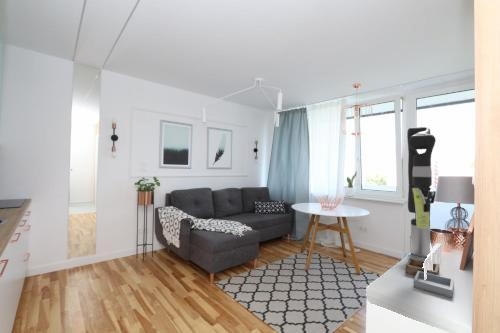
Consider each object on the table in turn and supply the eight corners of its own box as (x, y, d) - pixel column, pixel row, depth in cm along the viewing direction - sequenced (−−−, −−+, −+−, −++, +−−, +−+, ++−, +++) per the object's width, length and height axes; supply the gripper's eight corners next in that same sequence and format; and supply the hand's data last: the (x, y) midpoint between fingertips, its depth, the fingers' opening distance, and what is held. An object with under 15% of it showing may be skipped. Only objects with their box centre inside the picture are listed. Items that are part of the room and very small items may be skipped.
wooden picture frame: (405, 273, 114) (405, 265, 114) (409, 265, 123) (409, 258, 123) (437, 281, 106) (437, 272, 106) (439, 272, 115) (439, 264, 115)
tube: (423, 229, 112) (422, 188, 112) (412, 227, 116) (412, 187, 117) (431, 228, 113) (431, 188, 113) (421, 226, 118) (420, 187, 118)
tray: (413, 287, 101) (413, 280, 101) (418, 277, 110) (417, 270, 110) (452, 298, 93) (452, 290, 93) (453, 286, 102) (453, 279, 102)
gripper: (441, 176, 108) (442, 213, 108) (418, 175, 122) (418, 208, 122) (426, 176, 108) (426, 213, 108) (404, 175, 122) (404, 208, 122)
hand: (422, 210), depth 115 cm, fingers closed on tube, 4 cm apart
